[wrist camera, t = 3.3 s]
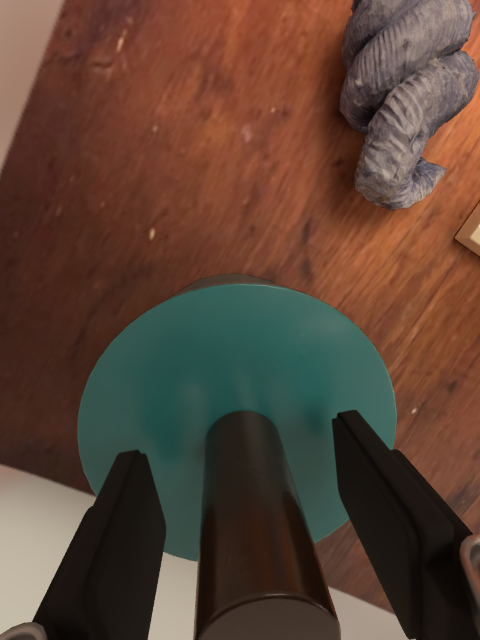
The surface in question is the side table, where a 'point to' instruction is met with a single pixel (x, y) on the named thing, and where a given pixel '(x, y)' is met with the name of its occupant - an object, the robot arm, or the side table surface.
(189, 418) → the lid
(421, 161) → the seashell
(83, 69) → the side table surface
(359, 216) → the side table surface
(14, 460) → the side table surface
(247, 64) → the side table surface
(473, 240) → the pedestal
